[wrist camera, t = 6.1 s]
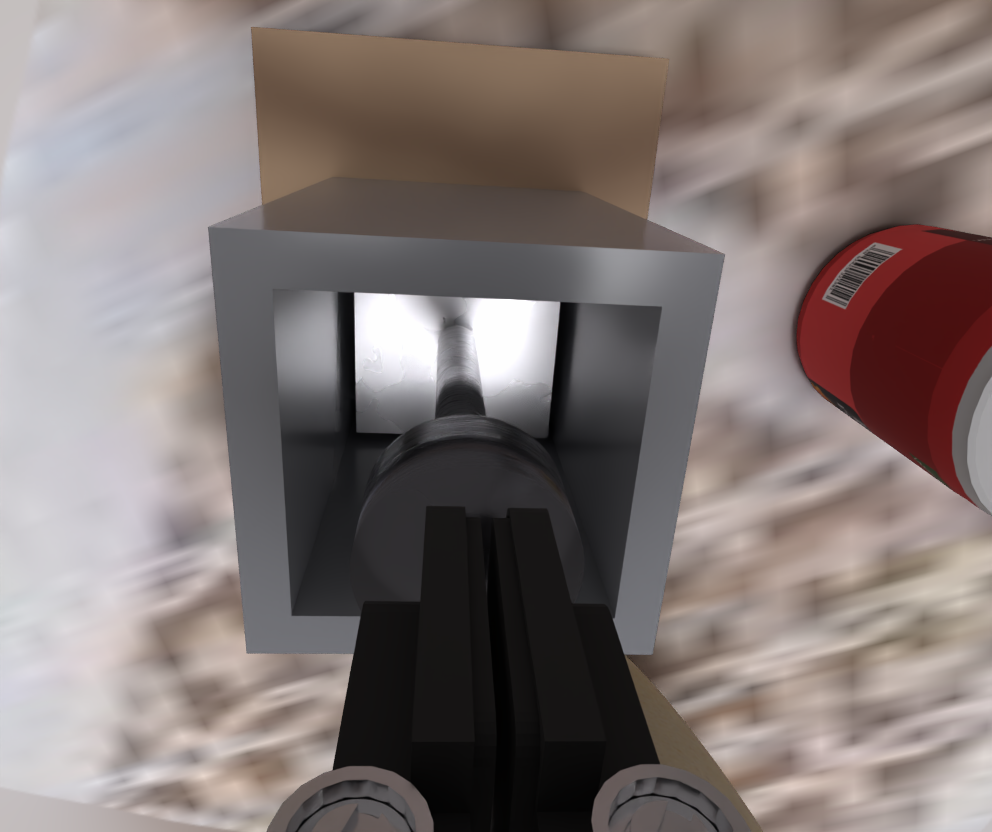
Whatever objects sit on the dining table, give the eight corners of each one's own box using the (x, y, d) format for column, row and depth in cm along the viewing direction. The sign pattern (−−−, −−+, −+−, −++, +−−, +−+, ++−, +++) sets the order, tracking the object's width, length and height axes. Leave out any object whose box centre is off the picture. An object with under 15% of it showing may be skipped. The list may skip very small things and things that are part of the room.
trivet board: (262, 32, 24) (251, 27, 23) (657, 62, 25) (669, 59, 24) (288, 492, 31) (280, 509, 30) (599, 499, 32) (606, 516, 31)
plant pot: (476, 505, 32) (502, 827, 17) (742, 612, 35) (956, 959, 20) (351, 734, 36) (287, 1142, 22) (597, 809, 40) (686, 1208, 25)
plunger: (356, 231, 22) (238, 365, 9) (561, 242, 22) (707, 383, 10) (359, 423, 24) (267, 731, 12) (544, 428, 24) (642, 729, 12)
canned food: (779, 410, 31) (941, 546, 21) (802, 225, 28) (1005, 279, 18) (945, 400, 31) (1185, 529, 21) (987, 216, 28) (1288, 264, 18)
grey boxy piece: (332, 176, 25) (208, 226, 12) (583, 191, 25) (724, 254, 13) (339, 470, 29) (255, 743, 16) (554, 476, 30) (637, 740, 17)
